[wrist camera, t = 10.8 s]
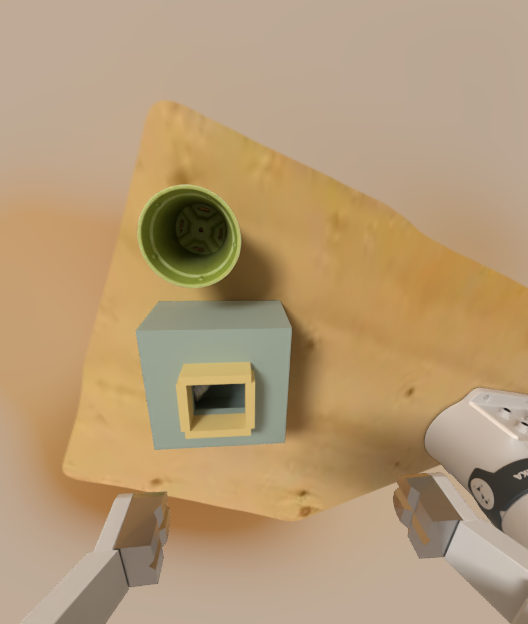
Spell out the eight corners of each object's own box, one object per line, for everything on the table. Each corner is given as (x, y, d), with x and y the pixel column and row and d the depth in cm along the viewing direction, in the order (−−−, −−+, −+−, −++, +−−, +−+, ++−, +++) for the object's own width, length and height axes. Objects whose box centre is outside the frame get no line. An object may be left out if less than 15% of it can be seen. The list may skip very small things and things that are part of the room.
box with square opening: (280, 300, 38) (296, 338, 28) (275, 397, 44) (287, 459, 33) (158, 301, 37) (126, 342, 26) (170, 401, 43) (148, 467, 32)
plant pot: (234, 273, 36) (234, 294, 28) (159, 262, 35) (136, 281, 27) (245, 196, 33) (248, 195, 25) (163, 180, 32) (137, 174, 24)
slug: (229, 357, 37) (195, 385, 32) (231, 380, 38) (199, 409, 34) (206, 347, 38) (171, 372, 34) (209, 369, 40) (177, 396, 36)
